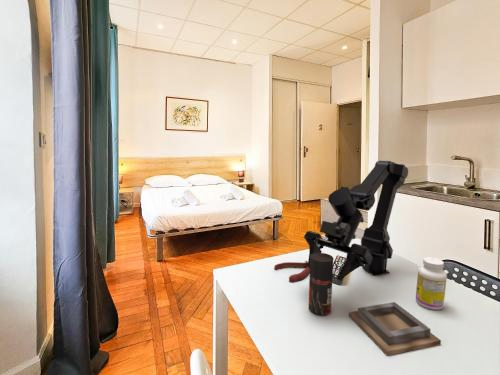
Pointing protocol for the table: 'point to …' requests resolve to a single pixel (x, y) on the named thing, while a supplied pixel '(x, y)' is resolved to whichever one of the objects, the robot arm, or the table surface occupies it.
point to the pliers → (295, 265)
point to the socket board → (393, 328)
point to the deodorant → (320, 283)
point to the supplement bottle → (431, 284)
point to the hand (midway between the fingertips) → (322, 273)
